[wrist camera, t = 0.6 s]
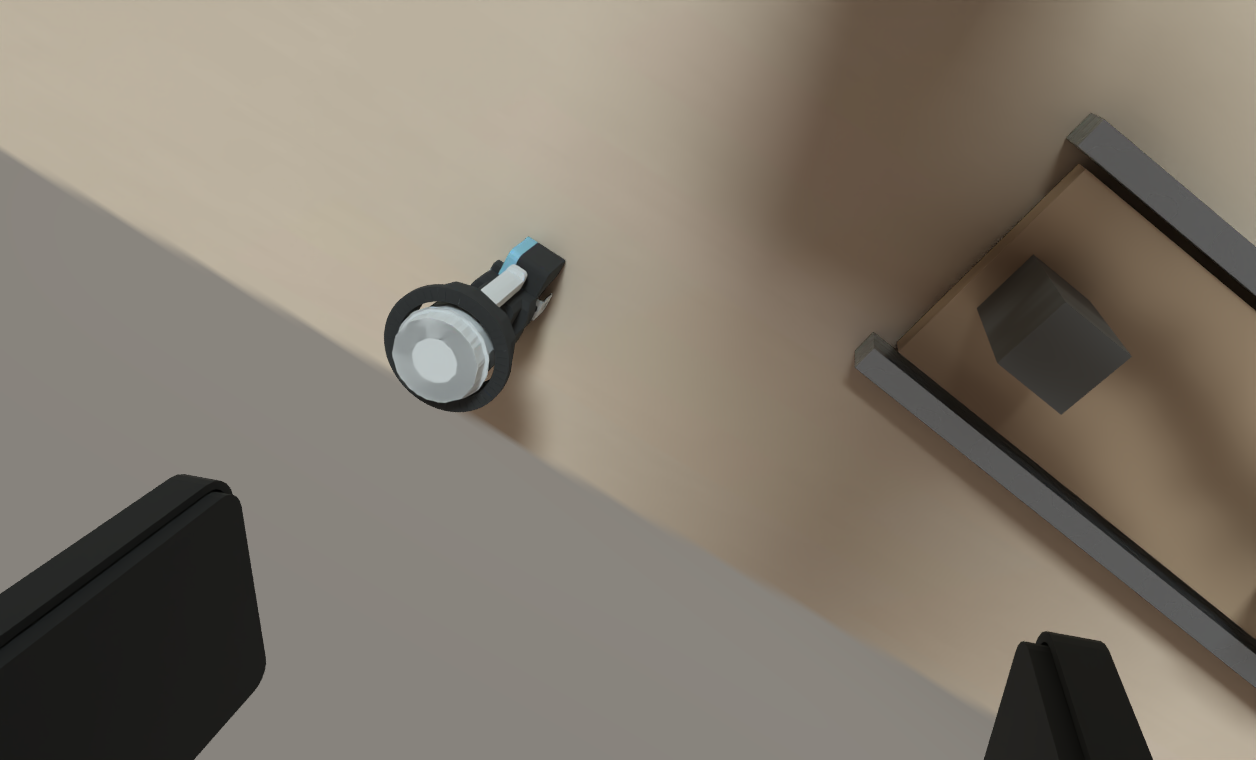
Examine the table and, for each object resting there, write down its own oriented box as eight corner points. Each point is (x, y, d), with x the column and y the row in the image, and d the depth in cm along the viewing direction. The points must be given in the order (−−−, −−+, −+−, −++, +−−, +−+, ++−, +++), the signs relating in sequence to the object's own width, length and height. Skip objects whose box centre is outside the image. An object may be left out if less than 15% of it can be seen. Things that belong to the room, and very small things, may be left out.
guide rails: (1091, 112, 33) (1104, 119, 31) (1677, 607, 35) (1721, 639, 33) (855, 350, 39) (854, 367, 37) (1366, 759, 41) (1388, 794, 39)
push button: (534, 373, 44) (452, 469, 35) (446, 316, 44) (341, 399, 35) (595, 269, 41) (522, 346, 32) (501, 208, 40) (401, 268, 32)
